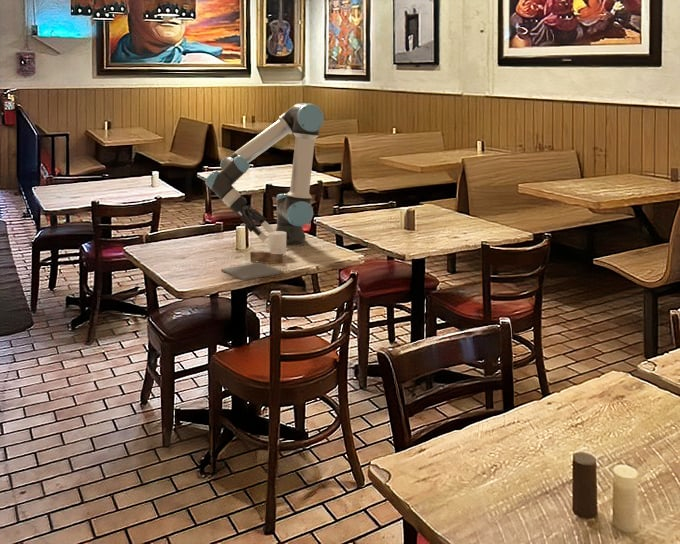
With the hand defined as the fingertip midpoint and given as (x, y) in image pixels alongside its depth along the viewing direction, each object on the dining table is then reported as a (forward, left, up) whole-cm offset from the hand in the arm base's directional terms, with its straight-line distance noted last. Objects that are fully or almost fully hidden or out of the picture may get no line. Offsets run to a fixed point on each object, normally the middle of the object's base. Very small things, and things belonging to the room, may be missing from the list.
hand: (269, 236), depth 328 cm
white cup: (-3, +2, -9) cm, 9 cm away
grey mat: (+21, +21, -8) cm, 31 cm away
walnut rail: (+8, +10, -8) cm, 15 cm away
